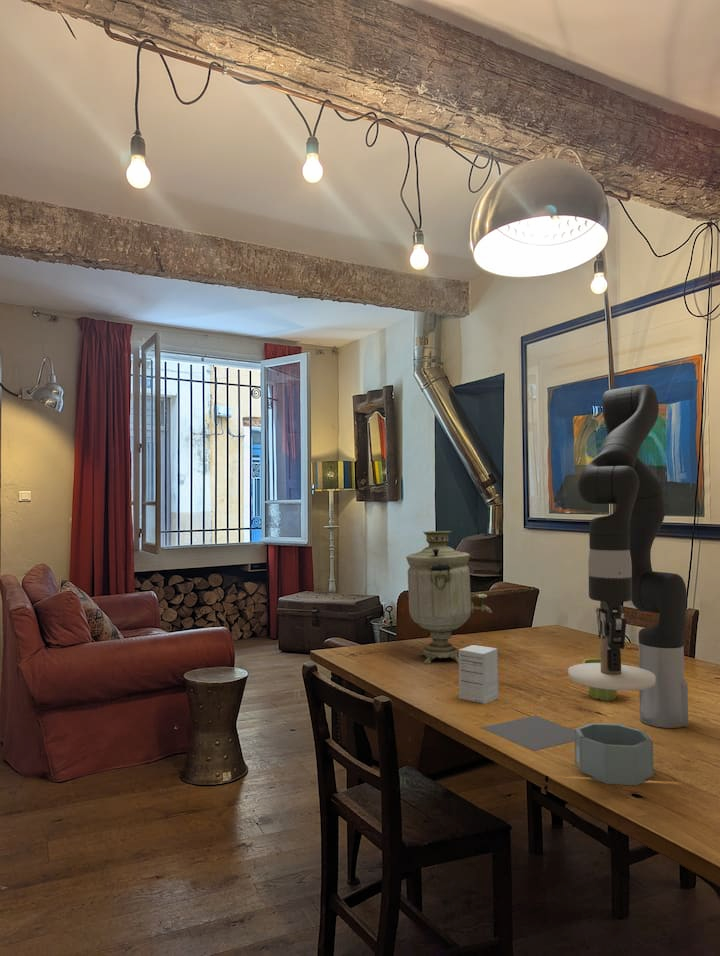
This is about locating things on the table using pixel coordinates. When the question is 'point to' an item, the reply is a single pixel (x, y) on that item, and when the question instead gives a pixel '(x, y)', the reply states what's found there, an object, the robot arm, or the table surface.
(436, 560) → the samovar
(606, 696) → the plant pot
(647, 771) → the bowl
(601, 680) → the lid
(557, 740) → the mat
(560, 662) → the table surface
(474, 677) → the supplement box
